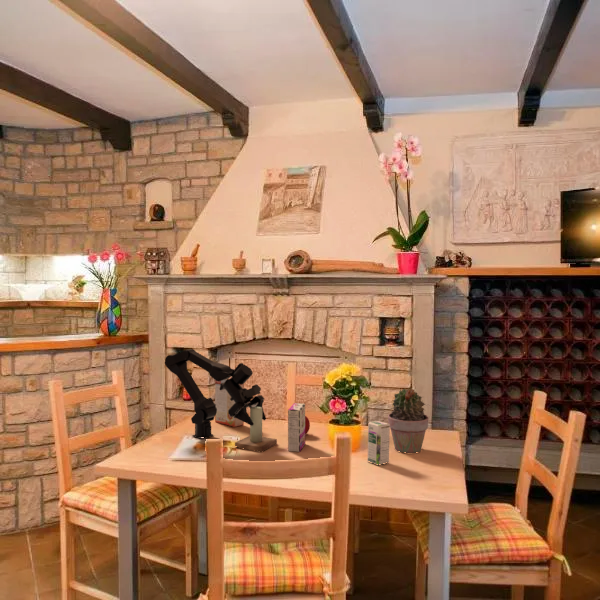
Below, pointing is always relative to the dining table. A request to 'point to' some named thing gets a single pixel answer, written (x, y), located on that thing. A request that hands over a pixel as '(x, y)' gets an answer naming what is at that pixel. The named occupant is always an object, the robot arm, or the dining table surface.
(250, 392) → the robot arm
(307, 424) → the apple
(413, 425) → the potted plant
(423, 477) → the dining table surface
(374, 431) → the syrup box
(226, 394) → the cracker box
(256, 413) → the green blank
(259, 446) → the brown flat square slab
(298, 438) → the candy bar box
